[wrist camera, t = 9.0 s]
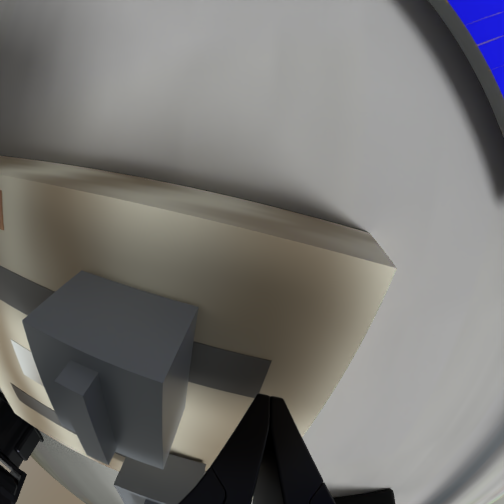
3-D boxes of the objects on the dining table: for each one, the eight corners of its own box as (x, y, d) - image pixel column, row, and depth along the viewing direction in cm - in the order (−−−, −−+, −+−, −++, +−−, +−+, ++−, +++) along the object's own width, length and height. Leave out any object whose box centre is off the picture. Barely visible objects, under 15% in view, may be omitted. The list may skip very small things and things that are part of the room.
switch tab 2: (139, 472, 14) (122, 516, 11) (133, 441, 12) (108, 496, 9) (198, 490, 14) (186, 536, 10) (206, 464, 12) (191, 524, 9)
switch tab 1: (95, 374, 10) (52, 440, 7) (81, 270, 8) (3, 337, 5) (185, 407, 10) (157, 488, 7) (198, 307, 8) (149, 411, 5)
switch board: (31, 391, 18) (14, 413, 15) (-18, 153, 10) (-57, 164, 8) (250, 475, 18) (245, 507, 15) (369, 233, 10) (397, 269, 7)
